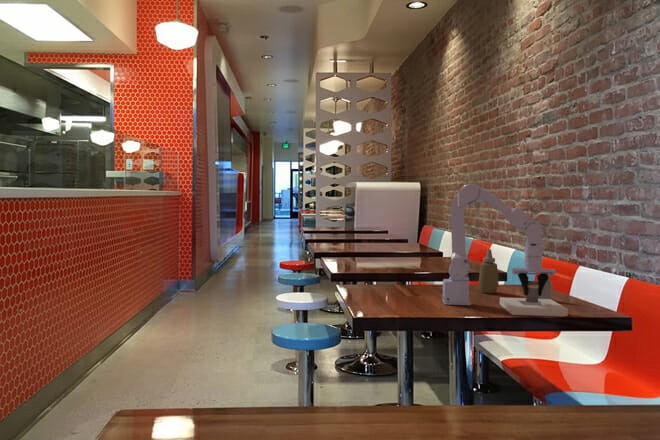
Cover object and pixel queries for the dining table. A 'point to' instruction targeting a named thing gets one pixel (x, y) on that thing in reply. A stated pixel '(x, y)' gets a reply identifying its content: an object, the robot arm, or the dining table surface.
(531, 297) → the grey spice jar
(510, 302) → the board
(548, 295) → the power adapter
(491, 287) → the squeeze bottle
